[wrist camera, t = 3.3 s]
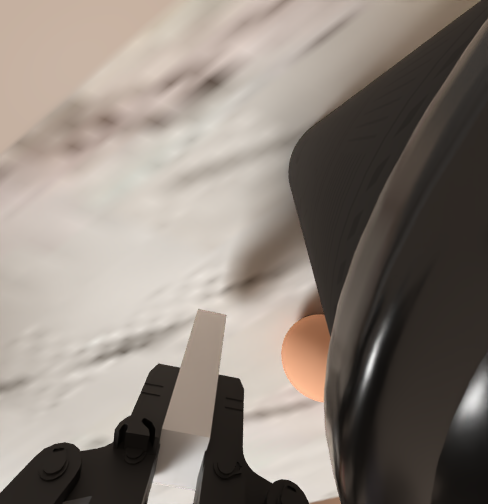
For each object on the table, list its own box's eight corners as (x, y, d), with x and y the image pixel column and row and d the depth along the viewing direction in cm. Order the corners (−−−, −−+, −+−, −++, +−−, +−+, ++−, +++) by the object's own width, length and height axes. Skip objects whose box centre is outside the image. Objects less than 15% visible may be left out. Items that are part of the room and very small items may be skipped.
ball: (269, 351, 18) (275, 414, 14) (289, 292, 17) (303, 343, 13) (335, 365, 19) (360, 430, 15) (361, 308, 17) (398, 362, 13)
